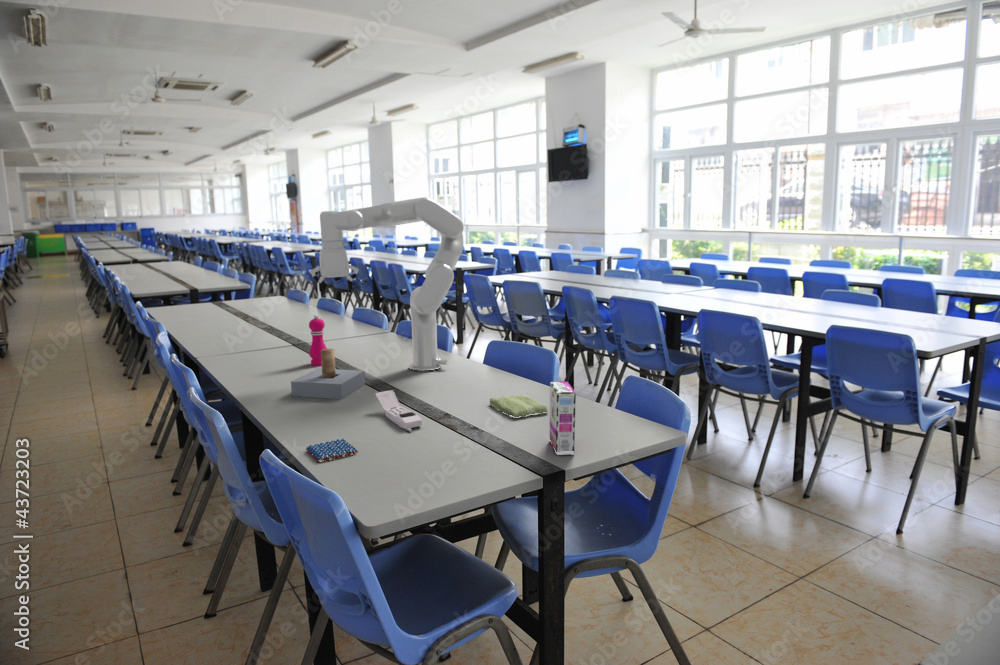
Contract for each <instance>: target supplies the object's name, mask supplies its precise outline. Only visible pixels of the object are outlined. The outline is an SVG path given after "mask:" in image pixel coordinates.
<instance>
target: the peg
mask: <svg viewBox="0 0 1000 665" xmlns="http://www.w3.org/2000/svg"><path fill="white" fill-rule="evenodd" d="M335 360H336V357H335V349H333V348H327V349H323V350H321V362H322V365H321V369H322V378H331V379H333V378H335V377H336V372H335V369H336V361H335Z"/></svg>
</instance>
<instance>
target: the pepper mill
mask: <svg viewBox="0 0 1000 665" xmlns="http://www.w3.org/2000/svg"><path fill="white" fill-rule="evenodd" d="M308 328H309V329H310V335H311V338H312V341H311V345H310V348H309V352H308V353H309V354H308V355H309V357H310V358H311V360H310V365H311V366H315V367H319V366H321V367H322V362H321V350H323V349H328V347H327V346H326V344H325V341H324V334H325V332H324V329H325V321H324V320H323V319H321V318H319V315H318V314H314V315H313V318H312V319H311V320H309V323H308Z"/></svg>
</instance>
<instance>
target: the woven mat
mask: <svg viewBox="0 0 1000 665" xmlns="http://www.w3.org/2000/svg"><path fill="white" fill-rule="evenodd" d="M346 440H347V439H346ZM346 440H345V439H344V438H341V439H336V440H330V441H325V442H319V443H316V444H310V445H308V446H307V447H305V450H306V452H307V453H309V454H310V455H312V454H313V455H312V456H311V457H312V458H314V459H315V460H316V461H318V460H319V461H323V460H327V461H328V459H330V460H331V461H332V460H333V458H337V457H339V458H343V457H344V458H346V456H347V457H349V456H351V455H353V456H354V455H355V454H356V455H357V453H358V452H359V451H358V449H356V447H354V446H353V445H351V444H350V443H349V442H348V441H346ZM353 453H354V454H353ZM344 454H345V455H344ZM349 454H350V455H349ZM330 460H329V461H330ZM323 462H324V461H323Z"/></svg>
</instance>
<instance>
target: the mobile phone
mask: <svg viewBox="0 0 1000 665" xmlns="http://www.w3.org/2000/svg"><path fill="white" fill-rule="evenodd" d="M375 397H376V398H377V399H378V402H379V403H380V405H381V407H382V409H383V410H384V413H385V414H384V415H385V417H386V418H387V419H388V420H390V421H392V422H393V423H394V424H396V425H397V426H398V427H400V428H402V429H404V430H406V431H408V432H410V433H412V432H413V429H412V428H417V427H422V426H423V418H421V416H420V415H417V413H415V412H414V411H411V410H409V409H407V408H405V407H404V406H402V405H401V403H400V402H399V400H398V397H397V396H396V392H395V391H394V390H393V389H391V390H384V391H379V392H375Z"/></svg>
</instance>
